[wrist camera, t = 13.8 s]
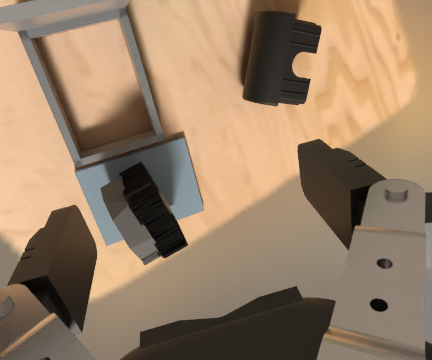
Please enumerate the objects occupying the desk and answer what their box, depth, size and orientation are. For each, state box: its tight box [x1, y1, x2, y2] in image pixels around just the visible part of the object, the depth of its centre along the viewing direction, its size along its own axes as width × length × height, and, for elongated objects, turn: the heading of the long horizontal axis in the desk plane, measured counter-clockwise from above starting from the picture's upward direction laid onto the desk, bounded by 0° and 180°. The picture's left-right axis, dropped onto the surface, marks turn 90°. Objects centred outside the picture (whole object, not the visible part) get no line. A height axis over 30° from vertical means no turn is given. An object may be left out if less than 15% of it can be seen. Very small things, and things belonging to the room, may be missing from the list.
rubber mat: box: [75, 137, 204, 246], centre depth 46 cm, size 14×11×1 cm
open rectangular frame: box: [0, 0, 165, 167], centre depth 34 cm, size 11×16×14 cm
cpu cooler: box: [100, 162, 188, 265], centre depth 41 cm, size 10×6×10 cm, turn 26°
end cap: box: [242, 11, 321, 106], centre depth 43 cm, size 10×7×7 cm
